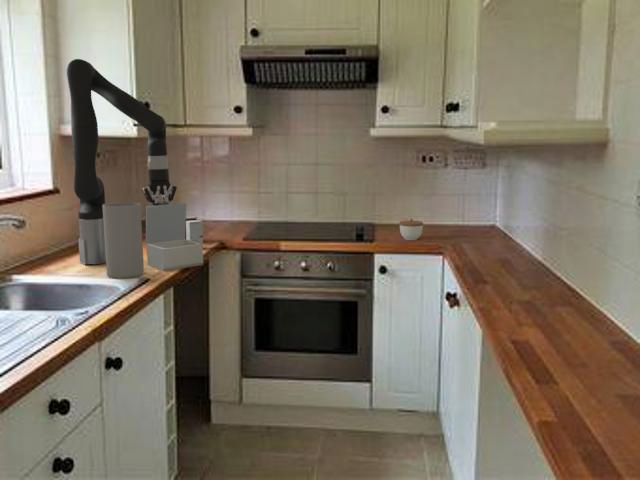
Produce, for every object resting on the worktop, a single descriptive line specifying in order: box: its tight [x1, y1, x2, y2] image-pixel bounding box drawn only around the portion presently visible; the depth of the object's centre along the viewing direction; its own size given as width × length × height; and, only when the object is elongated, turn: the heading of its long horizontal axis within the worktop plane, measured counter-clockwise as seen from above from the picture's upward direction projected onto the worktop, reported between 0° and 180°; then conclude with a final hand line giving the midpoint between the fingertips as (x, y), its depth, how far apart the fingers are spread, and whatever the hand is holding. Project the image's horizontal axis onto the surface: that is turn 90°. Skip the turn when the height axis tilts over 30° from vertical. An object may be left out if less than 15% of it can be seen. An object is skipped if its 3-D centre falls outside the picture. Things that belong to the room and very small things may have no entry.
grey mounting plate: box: [145, 201, 187, 244], centre depth 247 cm, size 16×14×6 cm
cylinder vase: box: [103, 201, 145, 279], centre depth 225 cm, size 12×12×25 cm
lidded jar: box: [398, 218, 424, 241], centre depth 295 cm, size 11×11×9 cm
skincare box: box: [186, 219, 204, 245], centre depth 273 cm, size 6×4×12 cm
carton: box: [145, 239, 204, 272], centre depth 242 cm, size 16×14×8 cm
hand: (161, 212), depth 248 cm, fingers closed on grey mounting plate, 3 cm apart
